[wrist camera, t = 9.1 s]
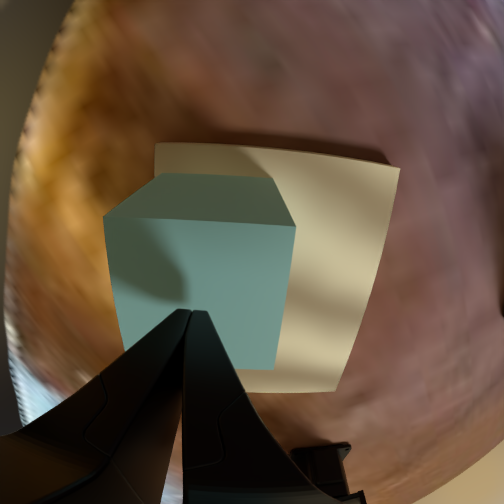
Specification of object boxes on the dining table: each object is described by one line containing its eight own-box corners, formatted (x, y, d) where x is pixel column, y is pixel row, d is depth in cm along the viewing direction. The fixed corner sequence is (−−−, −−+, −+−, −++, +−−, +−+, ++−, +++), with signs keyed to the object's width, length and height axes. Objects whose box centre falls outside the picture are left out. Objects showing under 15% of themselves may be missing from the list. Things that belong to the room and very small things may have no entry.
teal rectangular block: (262, 277, 16) (273, 369, 10) (164, 271, 16) (126, 357, 10) (273, 178, 14) (296, 226, 8) (161, 172, 14) (103, 216, 8)
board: (332, 381, 21) (334, 391, 20) (172, 376, 20) (170, 386, 20) (391, 165, 15) (400, 168, 14) (160, 142, 14) (154, 144, 13)
